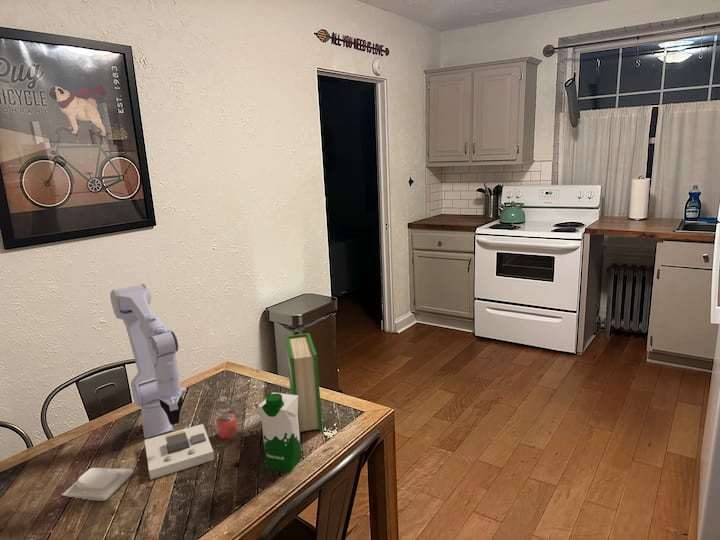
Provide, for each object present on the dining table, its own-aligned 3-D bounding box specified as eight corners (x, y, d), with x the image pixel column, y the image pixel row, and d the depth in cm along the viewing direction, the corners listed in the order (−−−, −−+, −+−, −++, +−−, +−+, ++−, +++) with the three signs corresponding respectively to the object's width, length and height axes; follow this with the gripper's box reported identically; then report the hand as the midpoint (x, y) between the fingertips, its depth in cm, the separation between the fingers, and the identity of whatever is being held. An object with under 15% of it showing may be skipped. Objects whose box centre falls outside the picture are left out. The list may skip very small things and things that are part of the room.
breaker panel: (145, 447, 138) (144, 438, 138) (203, 431, 145) (202, 422, 145) (150, 479, 124) (148, 468, 124) (214, 459, 131) (213, 449, 131)
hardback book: (322, 431, 142) (316, 354, 137) (297, 435, 141) (290, 358, 135) (314, 402, 159) (309, 333, 153) (291, 406, 158) (285, 335, 152)
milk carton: (261, 470, 126) (253, 399, 121) (277, 450, 134) (271, 383, 130) (291, 476, 123) (285, 403, 118) (307, 455, 131) (301, 386, 127)
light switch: (88, 459, 129) (131, 460, 127) (92, 473, 130) (134, 474, 128) (56, 486, 119) (101, 488, 116) (60, 501, 120) (105, 503, 117)
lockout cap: (217, 432, 145) (215, 416, 143) (234, 427, 147) (232, 411, 146) (220, 440, 140) (218, 424, 139) (238, 435, 142) (237, 419, 141)
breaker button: (167, 445, 135) (166, 437, 135) (186, 439, 138) (185, 432, 137) (169, 454, 131) (168, 446, 130) (189, 448, 133) (187, 440, 133)
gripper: (187, 383, 125) (194, 431, 128) (179, 363, 137) (186, 407, 141) (157, 390, 122) (165, 439, 125) (152, 369, 134) (159, 414, 138)
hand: (174, 422), depth 133 cm, fingers closed
